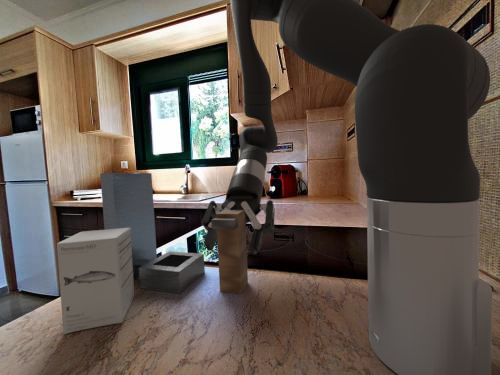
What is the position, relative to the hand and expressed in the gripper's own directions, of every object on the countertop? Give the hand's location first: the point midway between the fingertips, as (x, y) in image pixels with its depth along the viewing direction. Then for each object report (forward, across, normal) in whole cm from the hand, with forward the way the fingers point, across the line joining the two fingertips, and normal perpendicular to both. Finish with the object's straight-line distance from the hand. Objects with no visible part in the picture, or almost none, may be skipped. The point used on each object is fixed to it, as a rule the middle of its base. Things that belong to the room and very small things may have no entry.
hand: (230, 250), depth 38 cm
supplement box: (+13, -17, -2) cm, 22 cm away
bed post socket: (+4, -17, +6) cm, 18 cm away
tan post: (+4, 0, +6) cm, 7 cm away
